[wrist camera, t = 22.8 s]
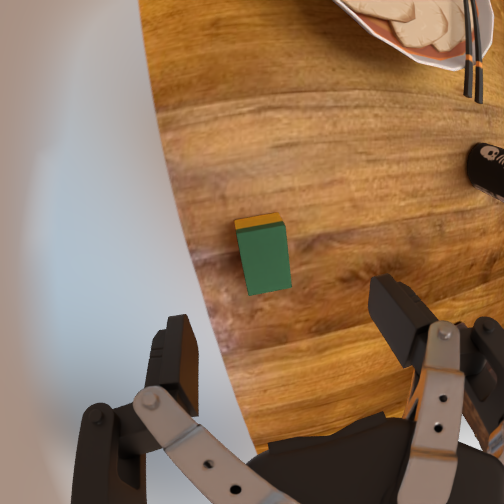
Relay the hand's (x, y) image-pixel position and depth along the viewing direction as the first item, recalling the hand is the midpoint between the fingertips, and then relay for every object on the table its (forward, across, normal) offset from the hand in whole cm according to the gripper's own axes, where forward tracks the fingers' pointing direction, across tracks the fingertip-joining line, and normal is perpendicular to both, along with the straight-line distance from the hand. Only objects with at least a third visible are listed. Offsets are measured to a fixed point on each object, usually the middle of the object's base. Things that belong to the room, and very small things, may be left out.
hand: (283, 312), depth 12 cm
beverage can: (+18, -32, 0) cm, 37 cm away
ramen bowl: (+18, -18, -23) cm, 34 cm away
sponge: (+18, -1, +6) cm, 19 cm away
